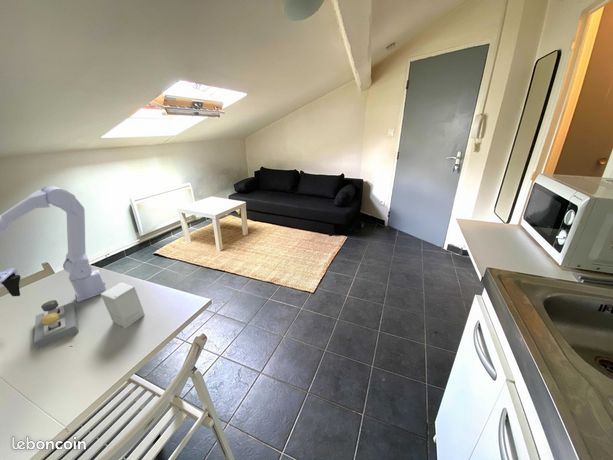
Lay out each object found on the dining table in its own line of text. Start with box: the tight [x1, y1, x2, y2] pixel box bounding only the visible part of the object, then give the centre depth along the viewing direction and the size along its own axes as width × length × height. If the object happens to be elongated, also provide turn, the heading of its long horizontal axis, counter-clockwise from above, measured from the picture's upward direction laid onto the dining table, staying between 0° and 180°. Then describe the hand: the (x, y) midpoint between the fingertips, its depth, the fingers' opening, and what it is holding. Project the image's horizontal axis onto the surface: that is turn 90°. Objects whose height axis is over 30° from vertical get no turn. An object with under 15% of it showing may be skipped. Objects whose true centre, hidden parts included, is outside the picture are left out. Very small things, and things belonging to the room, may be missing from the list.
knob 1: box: [41, 299, 59, 314], centre depth 91 cm, size 4×4×5 cm
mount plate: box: [33, 301, 79, 350], centre depth 89 cm, size 10×16×4 cm, turn 42°
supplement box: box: [100, 281, 146, 329], centre depth 91 cm, size 7×7×13 cm
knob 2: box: [41, 313, 60, 330], centre depth 85 cm, size 4×4×5 cm
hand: (5, 303), depth 87 cm, fingers open, 7 cm apart
